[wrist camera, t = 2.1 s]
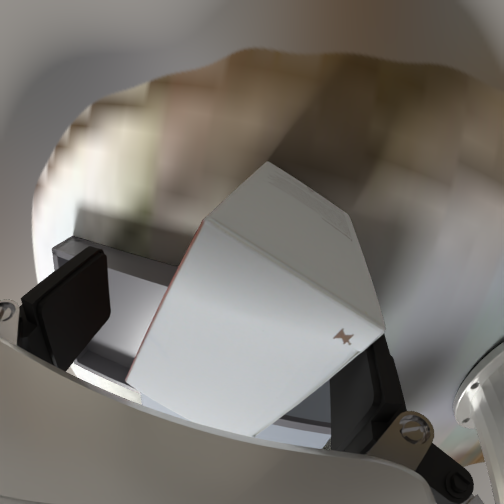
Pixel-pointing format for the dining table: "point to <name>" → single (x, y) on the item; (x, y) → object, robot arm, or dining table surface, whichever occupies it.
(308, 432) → the grey rectangular block
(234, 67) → the dining table surface
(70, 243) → the tray
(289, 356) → the small box
